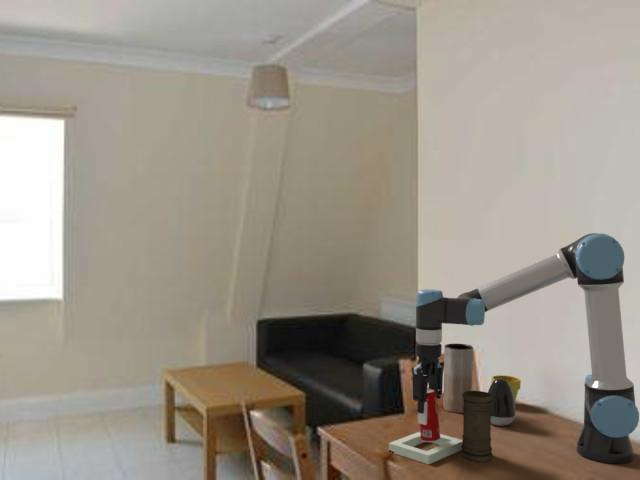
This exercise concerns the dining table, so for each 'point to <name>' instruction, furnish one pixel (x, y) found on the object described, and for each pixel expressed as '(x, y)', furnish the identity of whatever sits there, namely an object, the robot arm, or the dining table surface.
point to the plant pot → (510, 383)
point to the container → (477, 426)
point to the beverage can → (431, 419)
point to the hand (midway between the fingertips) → (427, 421)
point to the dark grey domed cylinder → (502, 403)
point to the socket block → (408, 450)
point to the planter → (457, 375)
